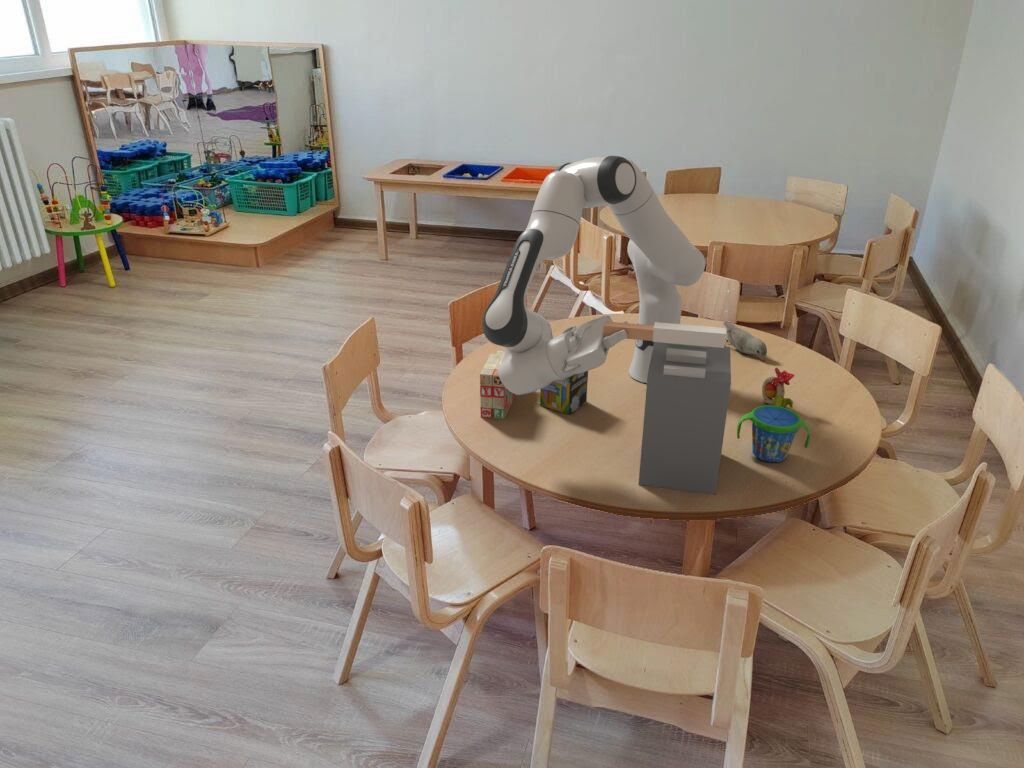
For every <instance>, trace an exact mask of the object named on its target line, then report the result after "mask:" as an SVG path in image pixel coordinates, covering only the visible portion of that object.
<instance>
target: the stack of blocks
mask: <svg viewBox="0 0 1024 768" xmlns="http://www.w3.org/2000/svg"><path fill="white" fill-rule="evenodd" d="M504 353H505V350H496V353H489V355H488V357H487V361H486V363H485V364H484V366H483V368H482V369H481V372H480V373H479V385H480V386H479V390H480V391H479V394H480V395H479V396H480V418H481V417H485V418H484V419H493V418H497V419H496V420H504V419H506V418H505V417H507V415H508V413H509V411H510V409H511V406H512V403H513V400H514V397H515V395H516V394H513V393H511V392H510V391H508V390H507V389H506V388H505V387H504V386H503V384H502V383H501V381H500V379H499V376H498V372H497V370H498V367H499V366H500V364H501V363H502V360H503V357H504Z"/></svg>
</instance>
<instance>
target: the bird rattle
mask: <svg viewBox="0 0 1024 768" xmlns="http://www.w3.org/2000/svg"><path fill="white" fill-rule="evenodd" d="M774 371H775V374H776V376H769V377H767V378H766V379H765V380H764V381H763V384H762V388H761V392H762V393H761V394H762V396H763V403H764V404H768V405H773V406H780V407H785V408H787V406H789V409H793V408H794V405H793V404H794V400H792V398H789V397H785V385H786V386H790V380H792V379H793V378H795V374H793V373H790V372H788V371H787V370H782V371H780V369H779V368H778V367H777V366H776V367H775V368H774Z"/></svg>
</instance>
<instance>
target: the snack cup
mask: <svg viewBox="0 0 1024 768" xmlns="http://www.w3.org/2000/svg"><path fill="white" fill-rule="evenodd" d="M747 420H750V421H751V423H752V424H751V425H752V426H751V427H752V429H751V444H752V446H751V447H752V450H751V451H752V453H753V454H754V456H755V457H757V458H758V459H759V460H761V461H765V462H771V463H772V462H773V463H781V461H783V460H785V459H786V458H787V457H788V455H789V452H790V450H791V447H792V444H793V441H794V438H795V437H796V434H797V432H798V431H799V429H800V428H801V427H804V429H805V430H806V433H807V436H806V439H805V441H804V448H805V449H807V448H808V447H809V444H810V441H811V430H810V427H809V425H808V423H807V422H806V421H805V420H804V419H802V418H801V417H800V415H799V414H798V413H797V412H796V411H793V410H792V409H790V408H787V407H785V408H784V407H780V406H775V405H770V404H768V405H765V404H764V405H759V406H757V407H754V408H753V409H752V411H750V412H747V413H746V414H743V415H742V416H741V418H740V419H739V420H738V424H737V427H736V437H737V440H739V439H740V437H741V436H740V434H741V429H742V423H743V422H745V421H747Z"/></svg>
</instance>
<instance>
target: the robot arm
mask: <svg viewBox="0 0 1024 768" xmlns="http://www.w3.org/2000/svg"><path fill="white" fill-rule="evenodd" d="M603 206H608V207H609V208H610V210H611V212H612V214H613V215H614V217H615V219H616V220H617V222H618V223H619V225H620V227H621V229H622V230H623V232H624V233H625V236H626V237H627V238H629V241H628V244H627V255H628V258H629V259H630V261H631V264H632V265H633V268H634V272H635V277H636V282H637V288H638V294H639V298H638V299H639V308H638V322H637V324H642V325H654V324H655V322H660V323H672V324H681V318H682V317H681V316H682V308H683V300H682V295H681V294H680V292H679V290H678V288H677V286H682V287H689V286H692V285H693V284H695V283H697V282H698V281H699V280H700V279H701V277H702V276H703V274H704V272H705V268H706V260H705V257H704V254H703V253H702V252H701V251H700V250H699V249H698V248H697V247H696V246H695V245H694V244H693V243H692V241H690V239H688V237H687V236H686V234H684V232H683V231H682V229H681V228H680V226H678V225H677V224H676V223H675V221H674V220H673V219H672V218H671V216H669V214H668V213H667V211H666V210H665V208H664V206H663V205H662V203H661V201H660V199H659V198H658V196H657V194H656V192H655V190H654V188H653V187H652V185H651V183H650V182H649V180H648V179H647V177H646V176H645V174H644V173H643V171H642V170H641V169H640V168H639V167H638V165H636V163H635V162H634V161H633V160H632V159H631V158H629V157H625V156H618V155H609V156H597V157H594V156H593V157H589V158H585V159H581V160H578V161H575V162H566V163H564V164H562V165H560V166H558V167H557V168H556V169H554V170H553V171H552V172H550V173H549V174H547V175H546V177H544V180H543V182H542V184H541V186H540V188H539V190H538V193H537V196H536V198H535V201H534V204H533V207H532V211H531V214H530V217H529V220H528V223H527V226H526V228H525V230H524V231H522V232H521V234H520V235H519V236H518V238H517V239H516V241H515V242H514V245H513V248H512V250H511V253H510V255H509V258H508V261H507V263H506V266H505V268H504V272H503V273H502V277H501V278H500V282H499V284H498V287H497V289H496V292H495V293H494V296H493V297H492V299H491V300H490V301H489V304H487V307H486V308H485V310H484V312H483V315H482V320H481V322H482V323H481V327H482V331H483V334H484V336H485V338H486V339H487V340H488V341H489V342H490V343H491V344H493V345H497V346H501V347H503V348H505V349H504V351H505V353H504V357H503V360H502V363H501V364H500V366H499V367H498V370H497V372H498V376H499V379H500V381H501V383H502V384H503V386H504V387H505V388H506V389H507V390H508V391H510V392H511V393H513V394H515V395H517V396H521V395H527V394H530V393H533V392H536V391H540V389H542V388H544V387H547V386H548V385H550V384H551V383H552V382H554V381H556V380H563V379H566V378H568V377H570V376H573V375H575V374H580V373H583V372H586V371H588V372H589V371H591V370H594V369H597V368H599V367H601V366H602V365H604V364H605V362H606V360H607V356H608V352H609V350H610V349H611V348H612V347H614V346H616V345H617V344H618V343H620V342H622V341H623V340H625V339H626V338H627V337H628V332H627V330H626V329H625V328H623V329H621V330H618V331H617V332H616V333H614V334H612V335H611V336H607V337H604V334H603V331H604V324H605V321H606V322H614V321H613V320H612V318H611V316H610V315H602V316H600V317H596V318H593V319H591V320H589V321H586V322H584V323H581V324H579V326H576V325H575V324H574V325H572V326H570V327H567V328H566V329H565V330H564V331H563V332H562V333H561V334H559V335H557V336H556V337H554V336H553V333H552V332H553V331H552V328H551V325H550V323H549V322H548V320H547V319H546V318H545V317H544V316H542V315H540V314H539V313H537V312H535V311H534V310H531V309H530V308H529V307H527V304H526V302H527V301H526V298H527V295H528V292H529V289H530V287H531V284H532V281H533V279H534V275H535V273H536V270H537V268H538V266H539V265H540V264H541V263H542V262H544V261H552V260H557V259H561V258H563V257H565V256H566V255H568V254H569V253H570V252H571V251H572V248H573V247H574V244H575V243H576V239H577V236H578V233H579V229H580V225H581V220H582V214H583V209H592V208H593V209H594V208H597V207H603ZM622 323H629V322H628V321H627V320H626V321H622ZM553 337H554V338H553ZM634 340H635V341H634V342H635V348H634V353H633V356H632V360H631V364H630V367H629V369H628V375H629V376H630V377H631V378H632V379H634V380H636V381H638V382H641V383H644V384H647V377H648V370H649V365H650V360H651V355H652V350H653V346H654V342H652V341H648V340H636V339H634Z"/></svg>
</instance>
